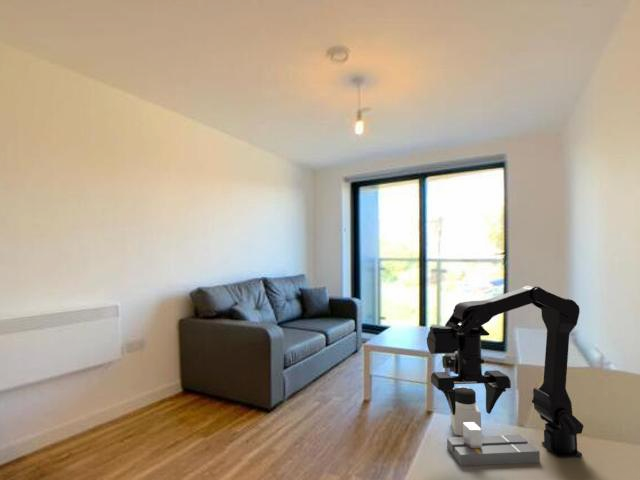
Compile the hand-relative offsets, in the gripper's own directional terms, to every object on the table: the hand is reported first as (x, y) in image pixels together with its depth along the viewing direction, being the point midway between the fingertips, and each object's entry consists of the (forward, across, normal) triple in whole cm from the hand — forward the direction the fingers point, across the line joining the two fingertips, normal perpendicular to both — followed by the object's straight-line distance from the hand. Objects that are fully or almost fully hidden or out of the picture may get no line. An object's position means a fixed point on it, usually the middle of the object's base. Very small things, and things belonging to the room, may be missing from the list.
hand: (470, 413), depth 91 cm
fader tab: (+9, 0, 0) cm, 9 cm away
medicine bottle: (+11, -4, -12) cm, 17 cm away
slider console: (+10, -5, 0) cm, 12 cm away
